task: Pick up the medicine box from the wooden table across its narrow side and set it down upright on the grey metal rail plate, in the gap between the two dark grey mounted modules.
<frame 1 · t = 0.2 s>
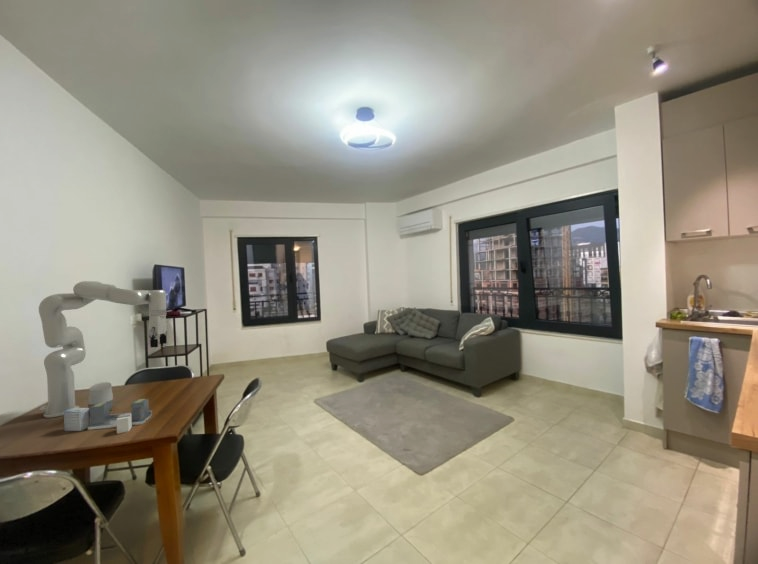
hand: (158, 345, 166), 31 cm above the table, tool pointing down, fingers open, 9 cm apart
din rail: (121, 422, 143), on the table
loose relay: (124, 430, 135), on the table
medicine box: (77, 429, 138), on the table
smart speaker: (101, 412, 156), on the table
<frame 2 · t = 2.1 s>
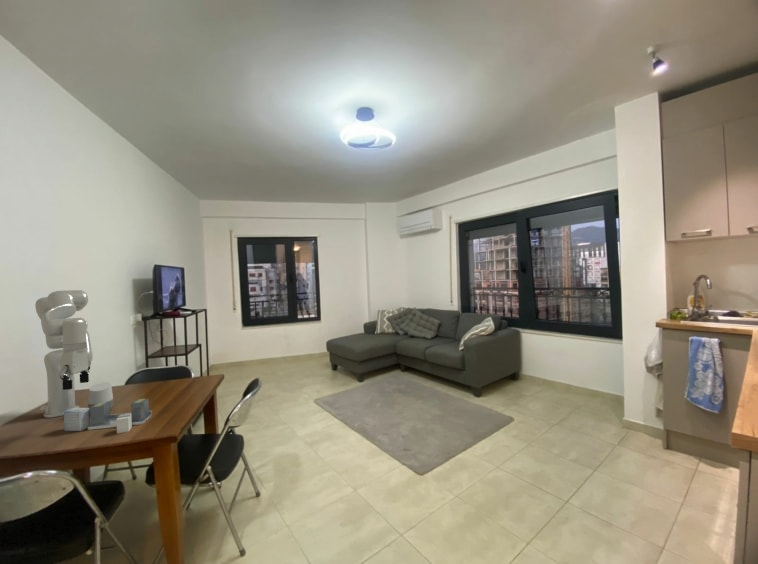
hand: (76, 385, 138), 19 cm above the table, tool pointing down, fingers open, 9 cm apart
nothing on the table moved.
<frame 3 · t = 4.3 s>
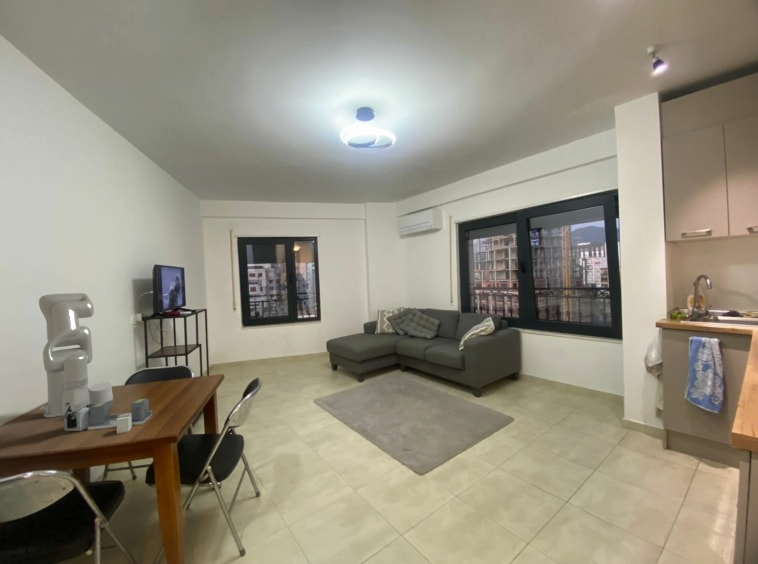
hand: (77, 424, 138), 2 cm above the table, tool pointing down, fingers closed on medicine box, 5 cm apart
medicine box: (77, 429, 138), on the table, touching gripper
everything else where it was.
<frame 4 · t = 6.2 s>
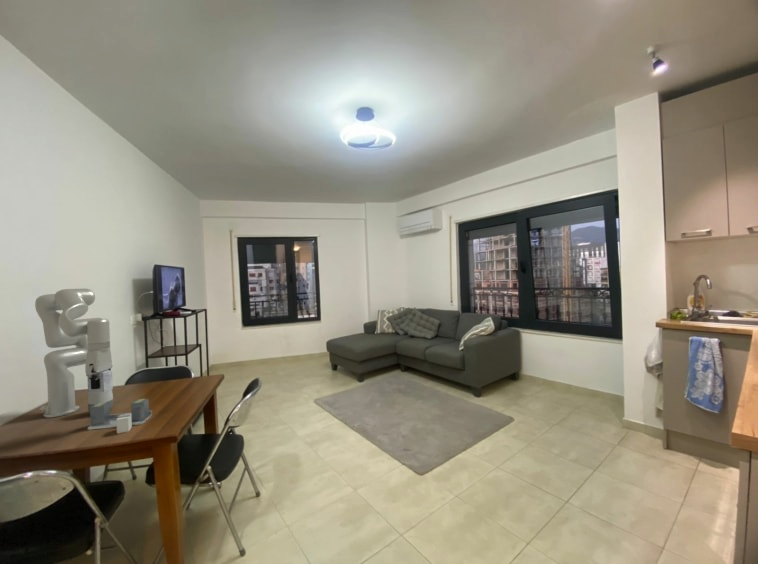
hand: (100, 386, 140), 18 cm above the table, tool pointing down, fingers closed on medicine box, 5 cm apart
medicine box: (100, 391, 140), point 16 cm above the table, touching gripper
everything else where it was.
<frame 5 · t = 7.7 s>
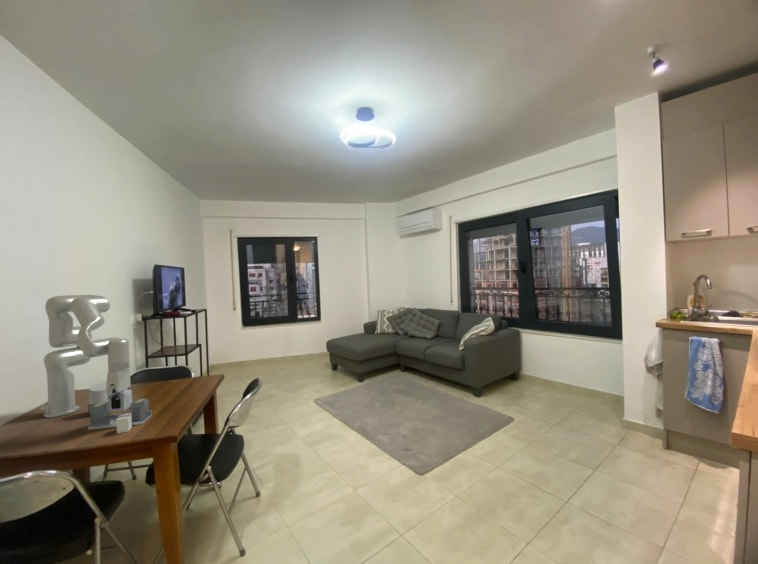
hand: (120, 405, 143), 8 cm above the table, tool pointing down, fingers closed on medicine box, 5 cm apart
medicine box: (120, 410, 143), point 6 cm above the table, touching gripper
everything else where it was.
when the fingers open (5 cm above the table, at t = 8.6 s): medicine box drops 1 cm, resting on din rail.
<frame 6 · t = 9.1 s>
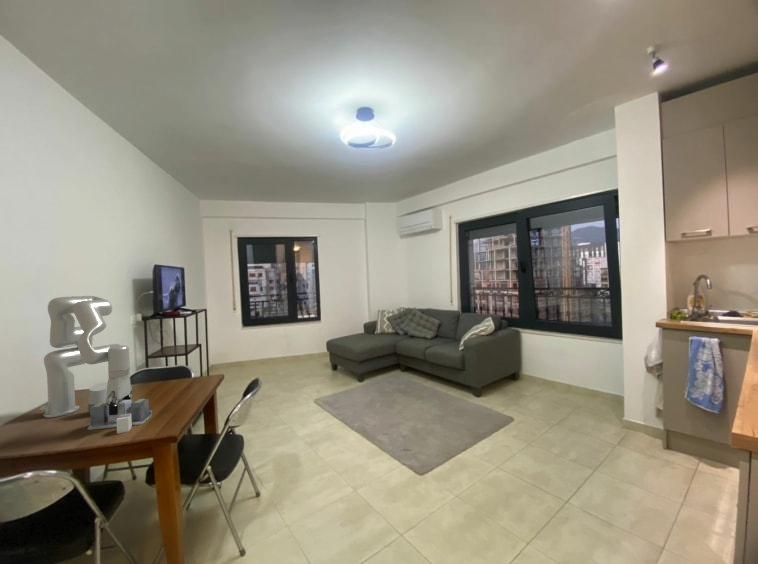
hand: (120, 410, 143), 6 cm above the table, tool pointing down, fingers open, 9 cm apart
medicine box: (120, 420, 143), point 1 cm above the table, touching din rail
everything else where it was.
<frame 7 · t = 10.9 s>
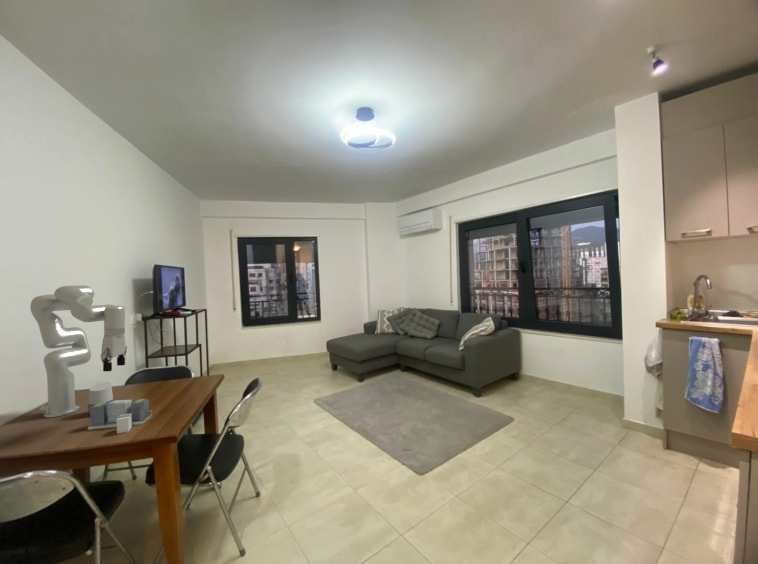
hand: (114, 368, 147), 24 cm above the table, tool pointing down, fingers open, 9 cm apart
nothing on the table moved.
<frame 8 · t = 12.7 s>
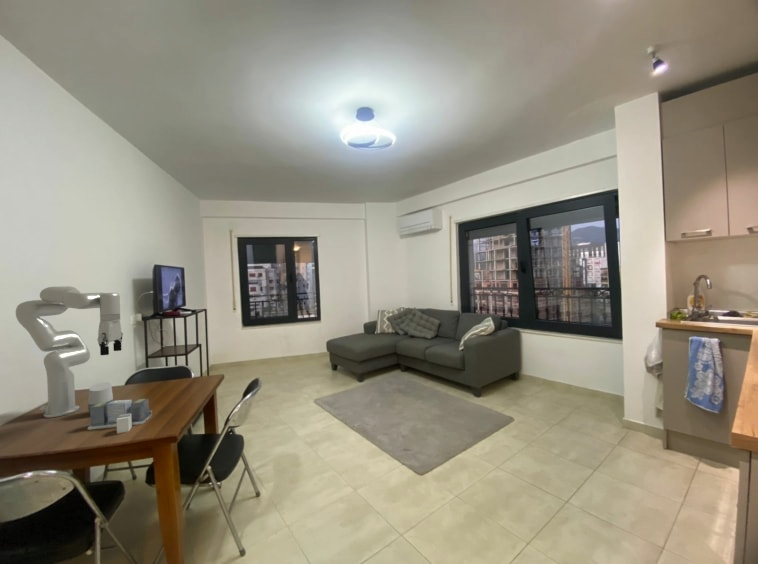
hand: (111, 352, 153), 30 cm above the table, tool pointing down, fingers open, 9 cm apart
nothing on the table moved.
at the end: medicine box inside the target area on the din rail (0.3 cm from its centre), point 1.0 cm above the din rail's base; medicine box tilted 0°; the gripper is holding nothing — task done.
